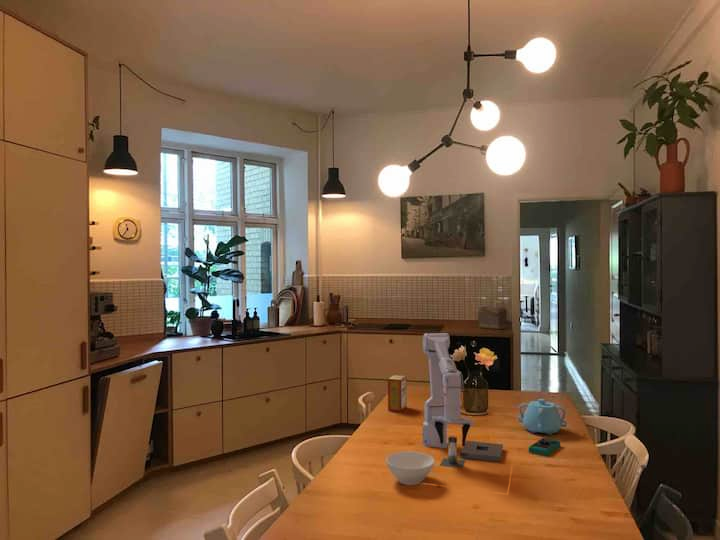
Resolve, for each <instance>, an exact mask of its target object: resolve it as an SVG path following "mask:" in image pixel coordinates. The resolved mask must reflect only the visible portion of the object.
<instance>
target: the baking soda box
mask: <svg viewBox="0 0 720 540" xmlns="http://www.w3.org/2000/svg"><path fill="white" fill-rule="evenodd" d="M404 408H405V409H406V408H407V375H396V374H395V375H392V376H390V377H388V378H387V411H388V410H389V411H388V412H395V411H398V413H402V412H403V411H404V410H405V409H404ZM403 409H404V410H403ZM402 410H403V411H402ZM401 411H402V412H401Z"/></svg>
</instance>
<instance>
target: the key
mask: <svg viewBox="0 0 720 540" xmlns="http://www.w3.org/2000/svg"><path fill="white" fill-rule="evenodd" d="M447 441H448V445H447V448H448V449H447V451H448V456H447V458H448V463H449V464H452V465H454V464H457V460H458V437H456V436H447Z"/></svg>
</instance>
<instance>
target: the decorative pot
mask: <svg viewBox="0 0 720 540" xmlns="http://www.w3.org/2000/svg"><path fill="white" fill-rule="evenodd" d="M522 407H526V408H525V411H524V413H523V410H522ZM559 410H562V412H563V413H562V416H561V414H560V413H559ZM518 411H519V412H518V413H519V416H518V417H517V422H519V423H520V424H521V423H523V426H524V428H525V429H526V430H528V431H529V432H530V433H531V434H537V433H541V434H546V435H549V436H553V435H554V434H555V433H556V434H557V433H558V432H559V430H560V429H561V428H565V427H567V426H568V422H567V421H566V420H565V417H566V415H567V411H566V408H564V407H563V406H560V405H558V406H557V405H556V404H555V403H554V402H550V401H547V399H545V398H538V399H537V400H533V401H530V402H529V403H526V402H523V403H521V404H520V405H519V407H518ZM563 423H564V424H563Z"/></svg>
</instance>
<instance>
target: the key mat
mask: <svg viewBox="0 0 720 540" xmlns="http://www.w3.org/2000/svg"><path fill="white" fill-rule="evenodd" d="M466 461H467V460H466V459H457V464H454V465H452V464H449V463H448V457H447V458H446V457H443V458H442V460H441V462H440V464H439V467H448V468H456V469H463V468H464V465H465V463H466Z"/></svg>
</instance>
